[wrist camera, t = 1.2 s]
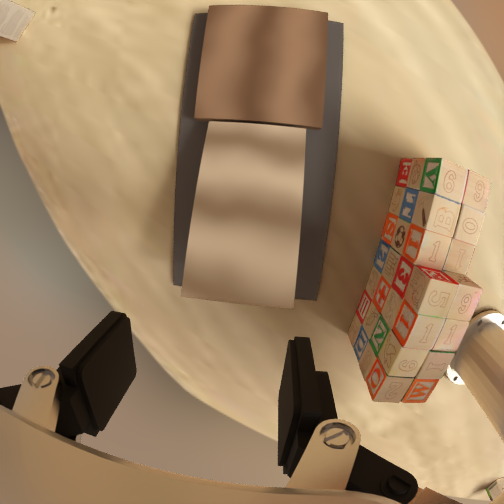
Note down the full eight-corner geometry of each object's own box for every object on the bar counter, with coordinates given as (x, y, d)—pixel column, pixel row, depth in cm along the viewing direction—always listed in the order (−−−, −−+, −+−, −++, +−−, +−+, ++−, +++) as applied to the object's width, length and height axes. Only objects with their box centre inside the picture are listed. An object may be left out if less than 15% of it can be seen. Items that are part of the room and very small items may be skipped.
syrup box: (496, 479, 48) (509, 508, 34) (504, 476, 48) (518, 503, 34) (485, 489, 49) (497, 517, 35) (494, 486, 49) (506, 513, 35)
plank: (212, 131, 28) (209, 121, 26) (303, 139, 28) (306, 128, 26) (186, 296, 26) (180, 296, 24) (290, 308, 25) (293, 308, 23)
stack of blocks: (399, 156, 28) (462, 156, 17) (444, 174, 28) (514, 183, 16) (346, 334, 34) (371, 404, 23) (390, 341, 34) (425, 405, 22)
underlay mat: (342, 25, 24) (343, 23, 24) (315, 298, 33) (316, 300, 33) (196, 15, 25) (195, 13, 25) (174, 283, 34) (173, 285, 33)
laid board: (325, 20, 24) (328, 12, 22) (319, 130, 28) (322, 127, 26) (212, 13, 25) (209, 5, 23) (199, 120, 28) (194, 118, 26)
